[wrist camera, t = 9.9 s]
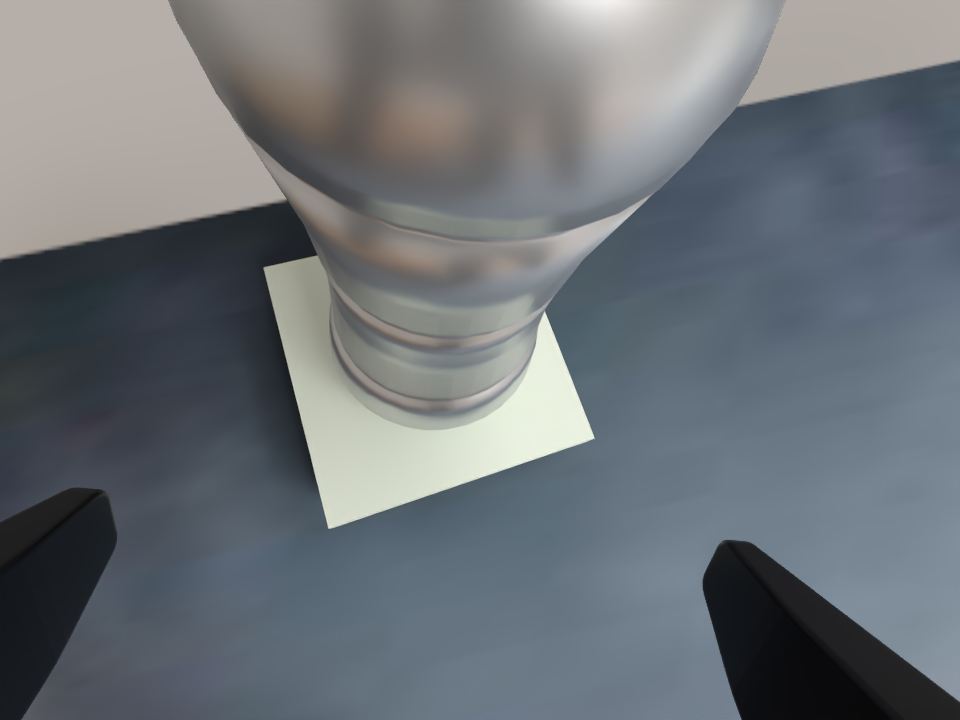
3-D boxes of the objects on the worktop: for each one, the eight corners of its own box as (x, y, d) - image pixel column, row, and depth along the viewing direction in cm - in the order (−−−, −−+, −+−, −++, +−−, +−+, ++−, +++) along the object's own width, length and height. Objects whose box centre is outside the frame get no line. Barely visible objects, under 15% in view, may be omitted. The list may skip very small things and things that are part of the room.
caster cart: (574, 447, 22) (594, 438, 19) (337, 527, 20) (328, 528, 17) (496, 243, 24) (506, 213, 22) (278, 294, 22) (263, 267, 20)
